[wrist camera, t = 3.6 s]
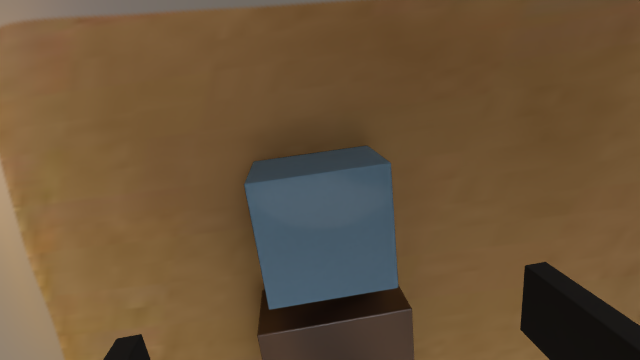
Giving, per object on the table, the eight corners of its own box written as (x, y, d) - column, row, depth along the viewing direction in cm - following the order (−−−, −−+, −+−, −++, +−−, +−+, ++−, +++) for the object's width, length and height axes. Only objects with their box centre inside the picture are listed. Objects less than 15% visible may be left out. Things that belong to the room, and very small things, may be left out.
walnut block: (389, 269, 24) (412, 308, 20) (396, 369, 27) (417, 422, 23) (262, 290, 24) (257, 335, 19) (282, 390, 26) (281, 449, 22)
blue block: (367, 145, 21) (391, 162, 17) (375, 247, 24) (398, 288, 19) (253, 161, 21) (243, 184, 16) (272, 263, 23) (268, 310, 18)
